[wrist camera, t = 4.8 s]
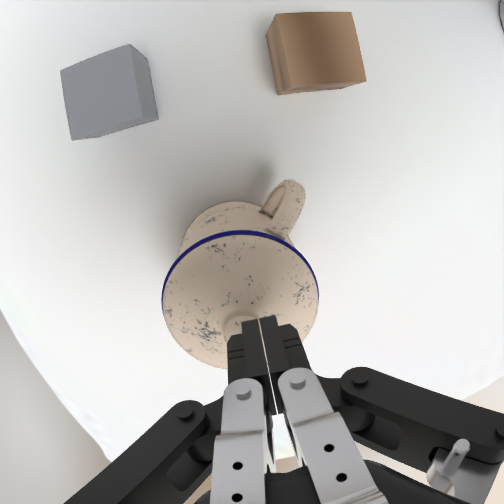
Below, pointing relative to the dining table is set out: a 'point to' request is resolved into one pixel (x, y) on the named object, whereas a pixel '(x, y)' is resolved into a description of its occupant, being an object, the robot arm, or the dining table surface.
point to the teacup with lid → (239, 275)
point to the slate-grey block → (108, 93)
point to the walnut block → (314, 52)
